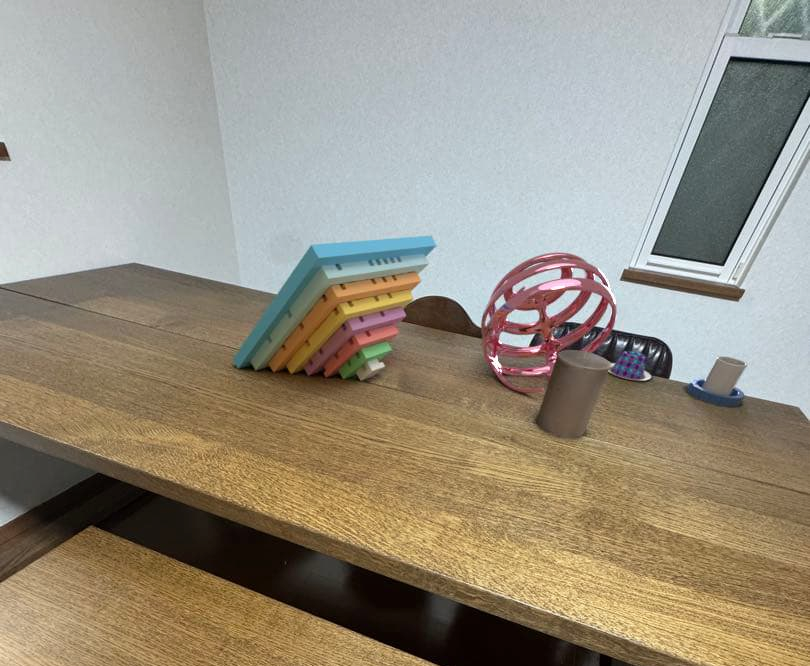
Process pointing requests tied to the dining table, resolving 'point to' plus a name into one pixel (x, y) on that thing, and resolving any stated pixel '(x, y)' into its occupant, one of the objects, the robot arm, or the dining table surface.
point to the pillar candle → (572, 393)
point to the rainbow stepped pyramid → (338, 308)
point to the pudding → (630, 366)
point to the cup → (724, 375)
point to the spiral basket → (543, 313)
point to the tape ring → (714, 394)
